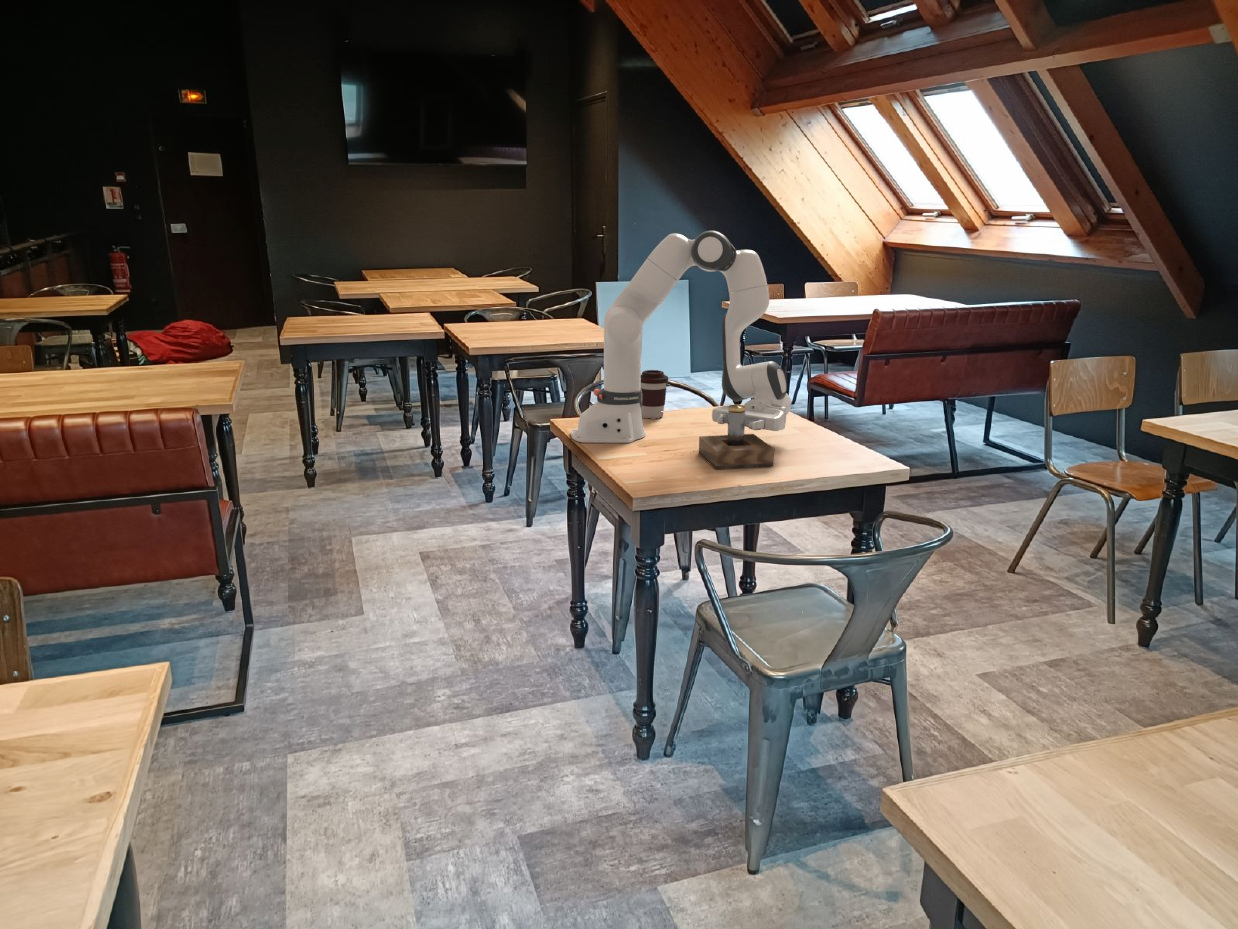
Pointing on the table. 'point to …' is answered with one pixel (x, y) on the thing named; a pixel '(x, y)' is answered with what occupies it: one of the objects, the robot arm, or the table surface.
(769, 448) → the post block
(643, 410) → the coffee cup
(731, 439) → the steel rod
